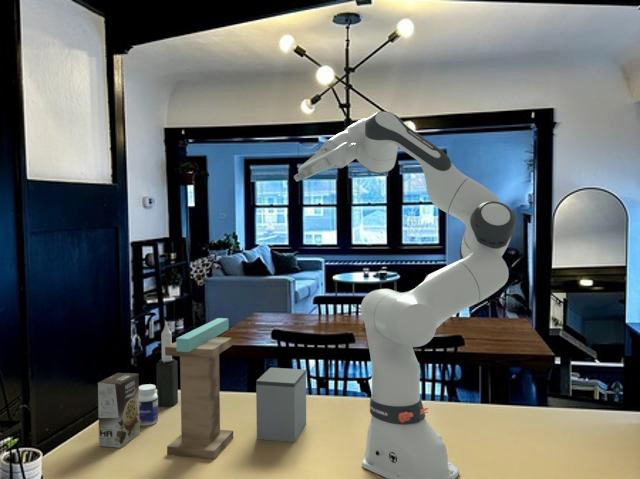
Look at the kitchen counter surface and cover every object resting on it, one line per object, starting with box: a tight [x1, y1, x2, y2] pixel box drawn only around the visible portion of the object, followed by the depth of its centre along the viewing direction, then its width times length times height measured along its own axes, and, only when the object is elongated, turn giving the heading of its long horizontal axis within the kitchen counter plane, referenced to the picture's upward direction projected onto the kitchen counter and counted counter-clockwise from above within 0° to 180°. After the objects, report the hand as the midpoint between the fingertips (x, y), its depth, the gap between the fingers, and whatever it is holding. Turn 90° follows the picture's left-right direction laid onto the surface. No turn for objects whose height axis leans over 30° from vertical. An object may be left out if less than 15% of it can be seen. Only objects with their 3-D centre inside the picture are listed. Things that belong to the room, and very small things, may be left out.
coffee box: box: [97, 372, 141, 449], centre depth 138 cm, size 9×6×16 cm
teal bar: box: [175, 317, 230, 352], centre depth 136 cm, size 24×3×3 cm, turn 168°
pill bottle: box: [139, 383, 159, 427], centre depth 150 cm, size 6×6×10 cm
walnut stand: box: [165, 336, 234, 460], centre depth 134 cm, size 12×12×26 cm
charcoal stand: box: [255, 367, 307, 443], centre depth 143 cm, size 12×10×15 cm
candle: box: [156, 321, 179, 408], centre depth 164 cm, size 5×5×25 cm
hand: (304, 175), depth 150 cm, fingers open, 8 cm apart
